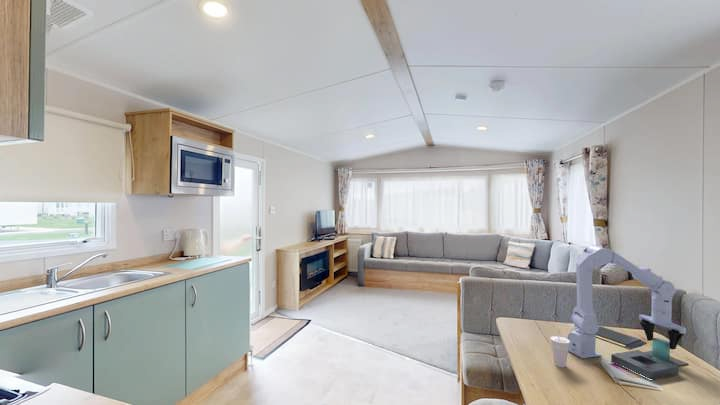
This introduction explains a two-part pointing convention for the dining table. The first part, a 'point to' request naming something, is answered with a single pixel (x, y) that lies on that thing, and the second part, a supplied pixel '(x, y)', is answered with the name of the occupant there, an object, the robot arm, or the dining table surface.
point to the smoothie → (560, 350)
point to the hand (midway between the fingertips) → (661, 344)
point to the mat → (672, 360)
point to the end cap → (661, 349)
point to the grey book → (619, 338)
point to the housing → (645, 364)
